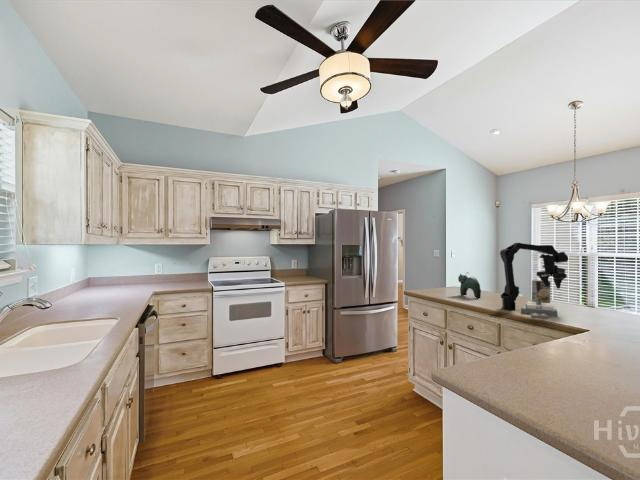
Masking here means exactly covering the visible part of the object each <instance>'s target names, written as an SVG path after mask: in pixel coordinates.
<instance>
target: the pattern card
mask: <svg viewBox="0 0 640 480" xmlns="http://www.w3.org/2000/svg"><path fill="white" fill-rule="evenodd" d="M530 316H531V318H535V317H536V318H537V319H547V320H549V316H548V314H539V313H531V314H530Z"/></svg>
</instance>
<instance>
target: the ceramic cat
mask: <svg viewBox="0 0 640 480" xmlns="http://www.w3.org/2000/svg"><path fill="white" fill-rule="evenodd" d="M467 274H468V275H470V273H469V272H468V271H466V273H465V274H464V275H463V274H462V273H460V274H459V276H458V279H457V280H458V282H459V283H460V289H459V291H460V294H461V295H467V292H468V290H469V289H470V290H471V291H472V292H473V296H474V298H475V297H476V298H480V299H481V297H482V296H481V295H482V290H481V285H480V284H481V283H480V282H479V281H478V279H477V278H476V277H474V276H470V277H468V275H467ZM461 295H460V296H461Z"/></svg>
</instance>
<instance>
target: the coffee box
mask: <svg viewBox="0 0 640 480" xmlns="http://www.w3.org/2000/svg"><path fill="white" fill-rule="evenodd" d="M548 283H549V286H548V287H546V285H545V284H544V283H543V281H542V280H537V279H536V280H533V279H531V302H536V305H541V303H551V281H549V280H548Z"/></svg>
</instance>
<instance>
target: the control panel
mask: <svg viewBox="0 0 640 480" xmlns="http://www.w3.org/2000/svg"><path fill="white" fill-rule="evenodd" d="M536 305H537V309H531V308H527V303H522V309H521V310H522V311H521V313H522V314H526V313H528V314H527V315H531V313H539V314H548V317H556V318H557V317H558V310H557V307H556V306H555V305H551V306H552V310H542V309H541V304H536Z"/></svg>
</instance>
